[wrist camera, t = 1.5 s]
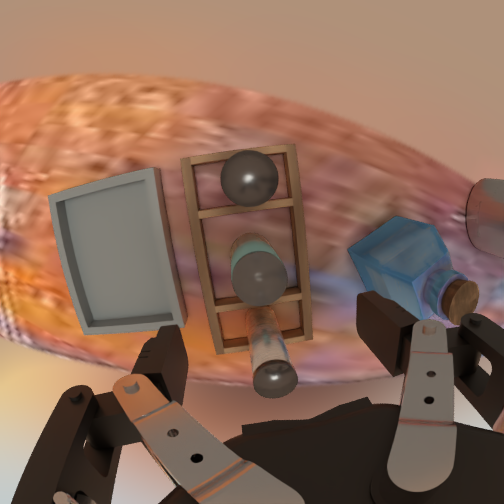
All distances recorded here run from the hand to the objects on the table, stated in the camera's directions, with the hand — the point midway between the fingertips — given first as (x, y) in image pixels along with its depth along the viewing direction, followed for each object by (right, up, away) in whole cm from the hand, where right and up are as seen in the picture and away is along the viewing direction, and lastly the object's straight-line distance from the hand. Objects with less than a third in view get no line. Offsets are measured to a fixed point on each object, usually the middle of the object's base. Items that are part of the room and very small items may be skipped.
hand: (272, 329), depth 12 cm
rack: (-1, +3, +13) cm, 13 cm away
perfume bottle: (+12, +3, +14) cm, 19 cm away
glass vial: (-2, +9, +11) cm, 15 cm away
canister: (0, -3, +14) cm, 15 cm away
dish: (-13, +3, +12) cm, 18 cm away
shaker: (-1, +3, +13) cm, 13 cm away
